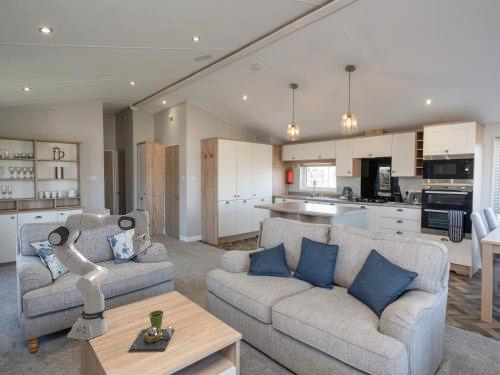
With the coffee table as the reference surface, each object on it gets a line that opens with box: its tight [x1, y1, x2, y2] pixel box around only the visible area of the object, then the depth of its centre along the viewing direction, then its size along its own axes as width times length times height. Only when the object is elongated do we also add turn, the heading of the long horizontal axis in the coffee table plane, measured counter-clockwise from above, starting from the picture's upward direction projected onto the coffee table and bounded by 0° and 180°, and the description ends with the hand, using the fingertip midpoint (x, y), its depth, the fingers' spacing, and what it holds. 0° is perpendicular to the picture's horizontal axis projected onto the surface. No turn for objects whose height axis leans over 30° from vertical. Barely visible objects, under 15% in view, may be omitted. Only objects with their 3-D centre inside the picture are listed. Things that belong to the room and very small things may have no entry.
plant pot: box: [148, 309, 165, 329], centre depth 189 cm, size 9×9×9 cm
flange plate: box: [129, 326, 175, 352], centre depth 173 cm, size 20×20×8 cm
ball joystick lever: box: [144, 325, 172, 343], centre depth 173 cm, size 16×10×6 cm, turn 90°
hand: (142, 256), depth 182 cm, fingers open, 8 cm apart
